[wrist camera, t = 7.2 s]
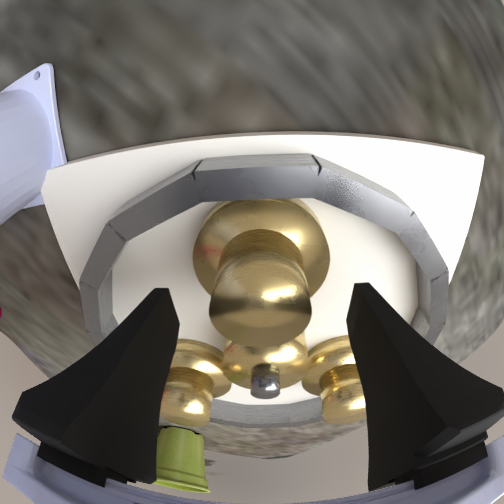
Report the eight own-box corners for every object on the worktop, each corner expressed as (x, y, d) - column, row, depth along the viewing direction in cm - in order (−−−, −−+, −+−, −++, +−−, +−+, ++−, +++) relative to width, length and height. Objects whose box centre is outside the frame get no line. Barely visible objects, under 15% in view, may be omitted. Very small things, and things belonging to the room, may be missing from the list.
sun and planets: (166, 380, 21) (155, 426, 17) (130, 308, 16) (104, 365, 12) (368, 376, 20) (378, 423, 16) (400, 302, 15) (426, 359, 11)
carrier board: (153, 396, 25) (151, 404, 24) (46, 168, 12) (36, 174, 11) (382, 392, 24) (384, 400, 23) (473, 150, 11) (484, 156, 10)
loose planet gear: (208, 295, 15) (193, 361, 11) (190, 191, 12) (157, 244, 8) (318, 293, 15) (331, 360, 11) (328, 187, 11) (359, 240, 8)
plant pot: (216, 446, 34) (211, 495, 27) (157, 436, 34) (148, 483, 27) (214, 427, 29) (208, 489, 22) (143, 415, 29) (129, 472, 22)
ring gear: (155, 402, 24) (151, 418, 22) (48, 184, 11) (25, 200, 10) (380, 398, 22) (384, 415, 21) (473, 168, 10) (496, 182, 8)
